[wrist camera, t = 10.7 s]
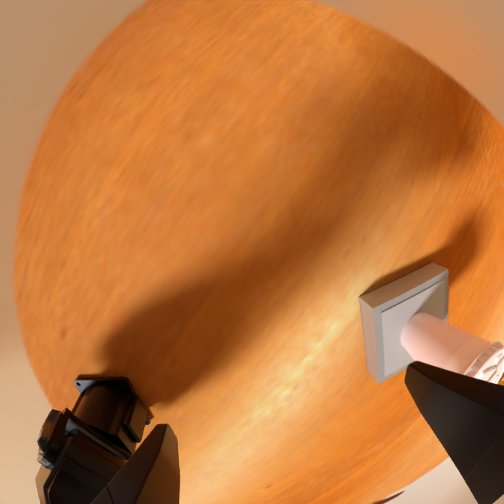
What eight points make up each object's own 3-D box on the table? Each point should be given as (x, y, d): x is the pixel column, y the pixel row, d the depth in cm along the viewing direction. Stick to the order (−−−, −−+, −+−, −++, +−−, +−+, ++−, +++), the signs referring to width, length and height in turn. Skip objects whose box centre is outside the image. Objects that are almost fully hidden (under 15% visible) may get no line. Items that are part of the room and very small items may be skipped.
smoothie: (429, 283, 20) (552, 356, 6) (445, 325, 22) (539, 396, 8) (378, 334, 20) (486, 445, 7) (401, 370, 22) (483, 462, 8)
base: (367, 370, 24) (378, 384, 22) (358, 296, 22) (373, 309, 20) (432, 333, 25) (445, 344, 22) (432, 262, 23) (449, 269, 20)
